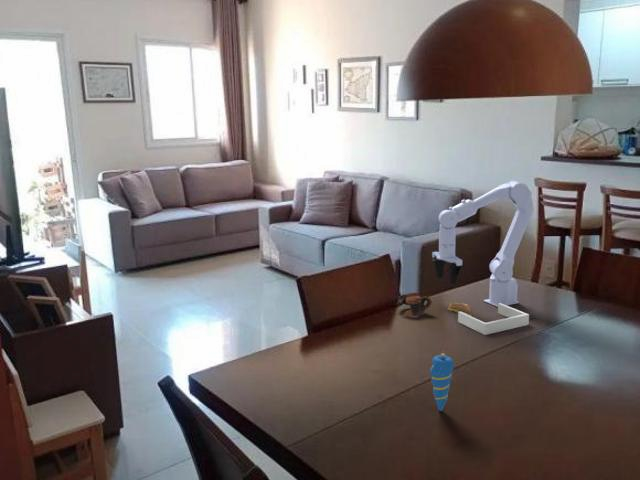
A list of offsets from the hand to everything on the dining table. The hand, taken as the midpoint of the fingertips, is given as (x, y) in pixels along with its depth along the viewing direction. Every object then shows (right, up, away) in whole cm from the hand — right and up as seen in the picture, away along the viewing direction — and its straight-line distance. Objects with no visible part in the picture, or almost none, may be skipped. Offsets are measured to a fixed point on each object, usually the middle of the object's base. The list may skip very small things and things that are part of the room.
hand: (446, 280), depth 206 cm
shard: (+5, -11, -6) cm, 13 cm away
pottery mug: (-13, -11, -7) cm, 18 cm away
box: (+11, -13, -19) cm, 25 cm away
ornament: (-17, -26, -72) cm, 79 cm away
